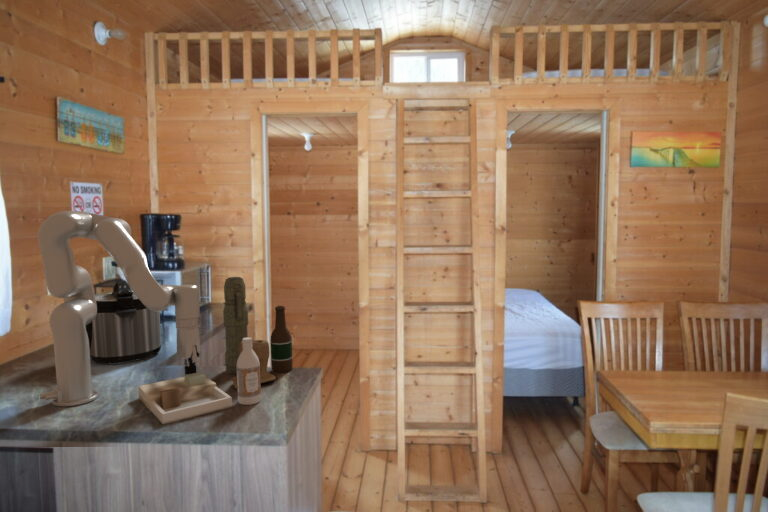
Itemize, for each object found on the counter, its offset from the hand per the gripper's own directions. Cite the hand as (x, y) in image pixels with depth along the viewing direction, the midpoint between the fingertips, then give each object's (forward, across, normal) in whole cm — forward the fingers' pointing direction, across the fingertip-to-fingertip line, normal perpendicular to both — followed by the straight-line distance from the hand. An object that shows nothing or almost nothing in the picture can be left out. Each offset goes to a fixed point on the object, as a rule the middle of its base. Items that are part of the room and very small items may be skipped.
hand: (190, 377), depth 170 cm
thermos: (+5, -11, +21) cm, 24 cm away
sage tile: (+1, +4, 0) cm, 4 cm away
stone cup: (+5, +6, +19) cm, 20 cm away
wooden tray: (+5, +2, -5) cm, 7 cm away
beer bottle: (+5, -1, +34) cm, 34 cm away
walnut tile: (+2, +10, -10) cm, 14 cm away
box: (+5, +16, -5) cm, 18 cm away
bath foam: (+5, +22, +11) cm, 25 cm away
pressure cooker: (+5, -62, -7) cm, 62 cm away
